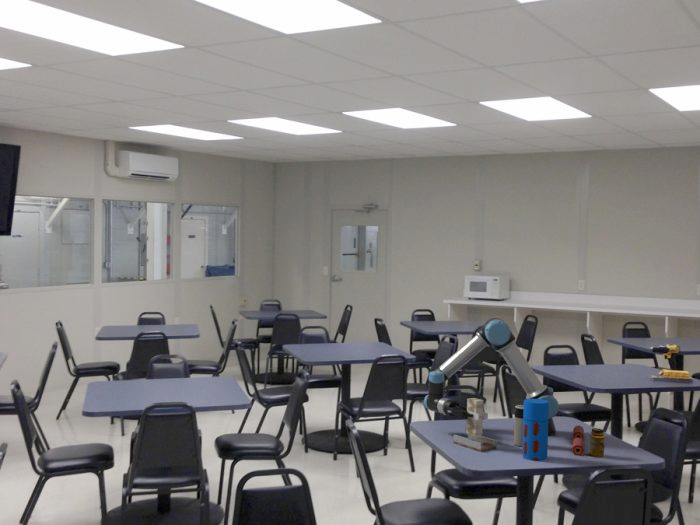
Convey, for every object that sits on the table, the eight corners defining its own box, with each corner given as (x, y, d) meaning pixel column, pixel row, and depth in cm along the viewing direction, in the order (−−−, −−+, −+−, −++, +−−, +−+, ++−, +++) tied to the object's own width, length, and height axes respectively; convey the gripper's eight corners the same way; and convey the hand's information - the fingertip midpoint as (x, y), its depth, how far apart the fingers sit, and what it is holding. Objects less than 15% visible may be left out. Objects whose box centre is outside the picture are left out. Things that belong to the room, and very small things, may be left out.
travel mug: (510, 444, 363) (511, 406, 362) (519, 441, 368) (520, 404, 368) (525, 447, 357) (526, 409, 357) (534, 445, 363) (535, 406, 363)
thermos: (547, 461, 334) (549, 404, 334) (522, 459, 336) (524, 402, 336) (546, 455, 345) (548, 399, 344) (522, 453, 347) (523, 398, 346)
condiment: (607, 457, 343) (608, 431, 343) (590, 458, 341) (591, 431, 341) (599, 453, 350) (599, 427, 350) (582, 454, 348) (582, 427, 348)
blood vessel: (583, 456, 345) (583, 445, 345) (572, 455, 347) (572, 444, 347) (583, 435, 386) (584, 425, 386) (573, 434, 387) (573, 425, 387)
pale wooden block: (466, 433, 360) (467, 398, 359) (473, 431, 362) (474, 397, 362) (475, 435, 355) (476, 401, 354) (482, 434, 357) (483, 400, 357)
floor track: (453, 443, 363) (453, 434, 363) (469, 440, 369) (469, 432, 369) (480, 451, 348) (480, 443, 348) (496, 449, 354) (496, 440, 354)
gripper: (462, 413, 378) (496, 423, 359) (434, 416, 368) (468, 426, 349) (462, 398, 378) (497, 406, 359) (435, 401, 368) (469, 410, 349)
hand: (483, 416), depth 354 cm, fingers closed on pale wooden block, 4 cm apart
